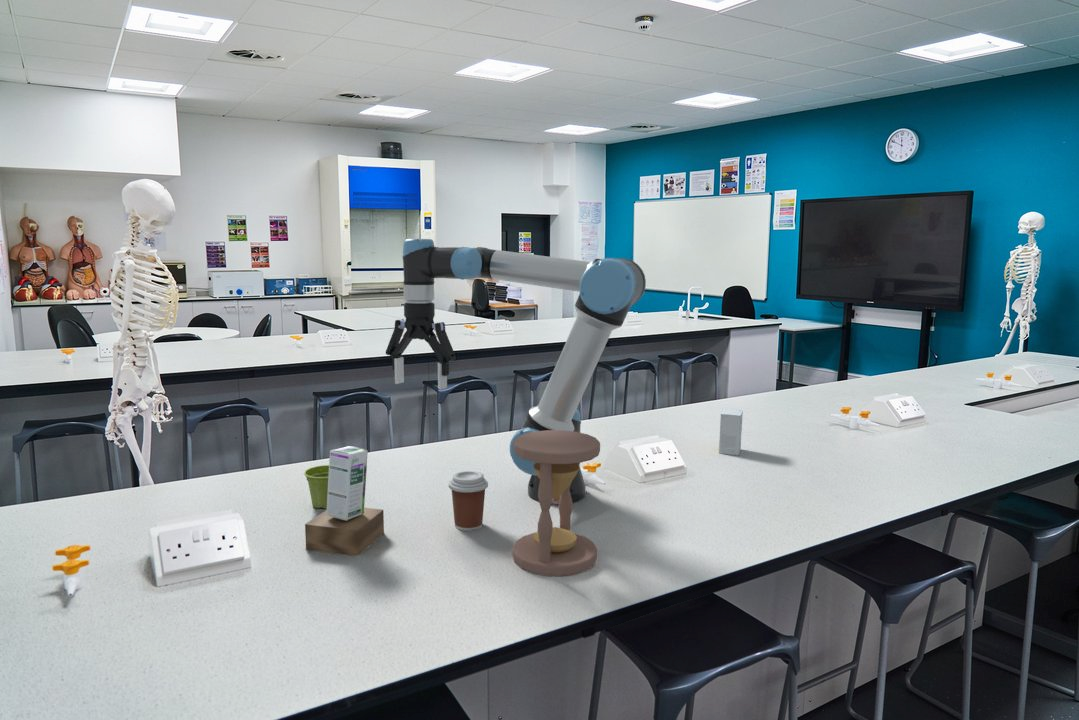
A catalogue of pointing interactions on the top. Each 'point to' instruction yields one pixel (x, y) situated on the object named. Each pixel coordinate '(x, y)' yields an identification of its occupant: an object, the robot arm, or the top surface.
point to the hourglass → (556, 470)
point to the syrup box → (346, 482)
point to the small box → (730, 431)
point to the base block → (344, 532)
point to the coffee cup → (468, 499)
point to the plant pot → (318, 484)
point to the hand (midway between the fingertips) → (420, 385)
